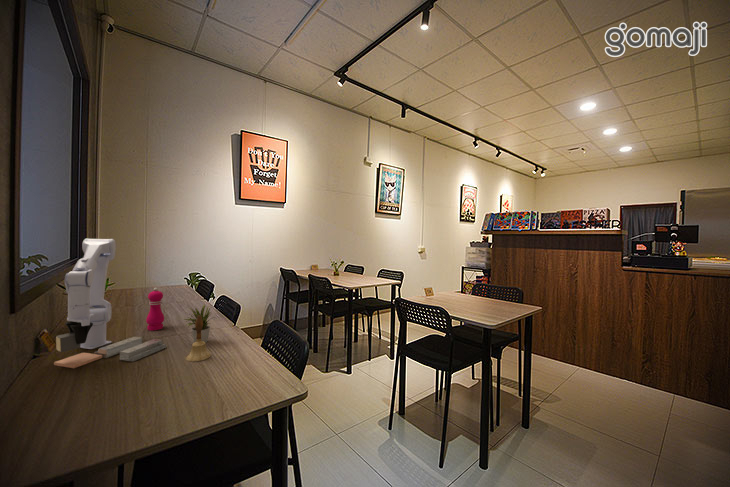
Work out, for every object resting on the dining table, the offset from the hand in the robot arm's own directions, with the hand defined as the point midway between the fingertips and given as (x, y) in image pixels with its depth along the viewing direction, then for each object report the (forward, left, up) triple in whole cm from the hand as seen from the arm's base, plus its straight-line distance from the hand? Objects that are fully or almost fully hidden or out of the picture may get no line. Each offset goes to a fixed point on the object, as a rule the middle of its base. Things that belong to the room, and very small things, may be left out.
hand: (78, 342), depth 107 cm
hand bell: (+37, +15, -7) cm, 41 cm away
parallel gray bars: (+9, +12, -7) cm, 17 cm away
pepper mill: (-7, +37, -7) cm, 38 cm away
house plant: (+25, +29, -7) cm, 39 cm away
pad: (0, 0, -7) cm, 7 cm away
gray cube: (-1, -3, -2) cm, 3 cm away
